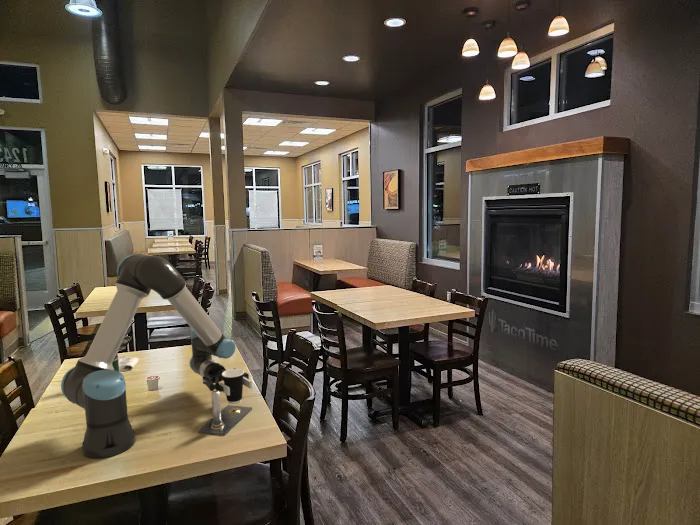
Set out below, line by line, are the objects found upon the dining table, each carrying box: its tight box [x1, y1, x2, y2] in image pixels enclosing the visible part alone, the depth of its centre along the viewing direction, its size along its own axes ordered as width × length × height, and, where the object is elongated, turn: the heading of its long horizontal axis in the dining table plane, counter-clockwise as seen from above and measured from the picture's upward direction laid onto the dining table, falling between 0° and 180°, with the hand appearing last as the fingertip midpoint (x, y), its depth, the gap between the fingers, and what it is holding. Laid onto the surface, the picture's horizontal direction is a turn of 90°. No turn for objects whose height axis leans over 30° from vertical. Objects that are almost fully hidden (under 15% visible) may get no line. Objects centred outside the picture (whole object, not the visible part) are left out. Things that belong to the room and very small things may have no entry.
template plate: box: [197, 404, 253, 436], centre depth 163 cm, size 20×10×1 cm, turn 166°
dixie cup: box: [222, 368, 245, 405], centre depth 168 cm, size 8×8×11 cm
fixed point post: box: [210, 390, 223, 428], centre depth 156 cm, size 4×4×12 cm
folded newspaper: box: [118, 355, 140, 373], centre depth 220 cm, size 3×18×15 cm
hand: (240, 388), depth 164 cm, fingers closed on dixie cup, 8 cm apart
